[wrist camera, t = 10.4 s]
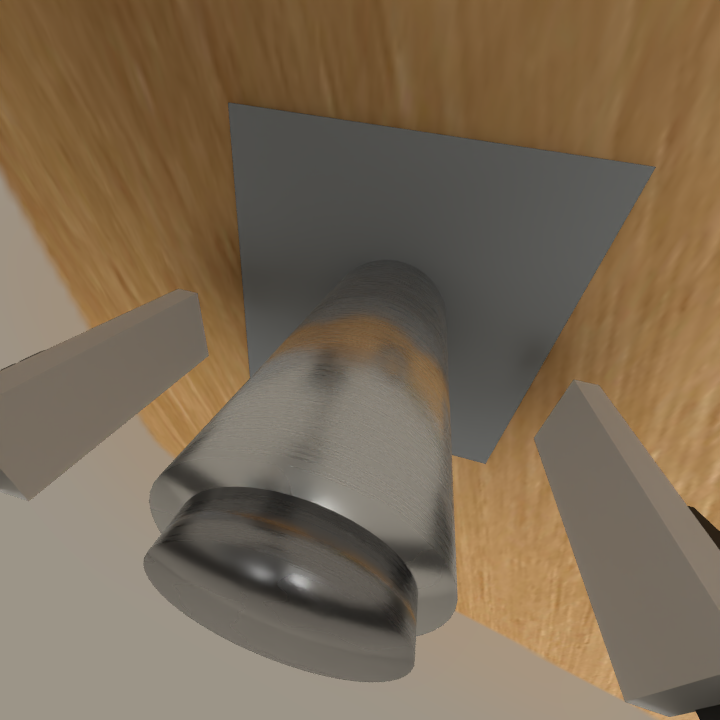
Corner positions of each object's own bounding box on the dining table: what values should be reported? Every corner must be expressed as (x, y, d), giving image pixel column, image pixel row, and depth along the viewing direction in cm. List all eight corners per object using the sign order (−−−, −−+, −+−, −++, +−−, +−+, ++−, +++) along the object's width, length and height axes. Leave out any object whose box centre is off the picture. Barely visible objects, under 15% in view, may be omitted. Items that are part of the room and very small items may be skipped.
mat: (232, 104, 12) (227, 102, 11) (651, 167, 10) (655, 167, 10) (254, 398, 20) (252, 400, 20) (484, 460, 18) (485, 463, 18)
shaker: (334, 248, 13) (41, 460, 4) (462, 273, 13) (538, 617, 3) (326, 355, 16) (157, 625, 7) (428, 378, 16) (410, 718, 6)
